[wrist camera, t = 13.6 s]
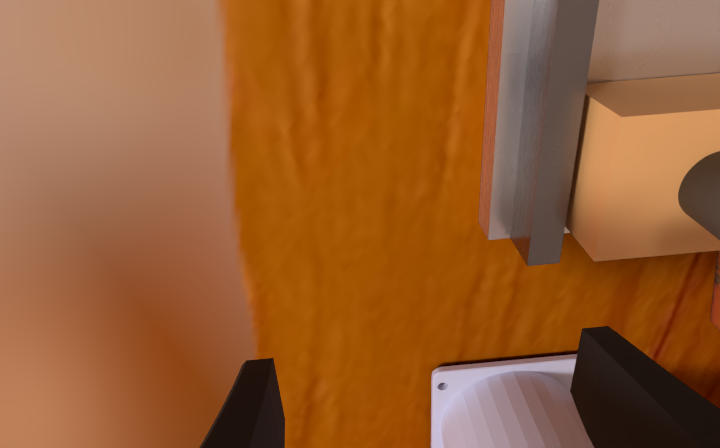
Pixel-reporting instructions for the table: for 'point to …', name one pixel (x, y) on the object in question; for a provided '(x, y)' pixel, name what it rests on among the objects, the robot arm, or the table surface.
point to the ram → (648, 168)
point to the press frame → (569, 97)
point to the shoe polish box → (716, 296)
